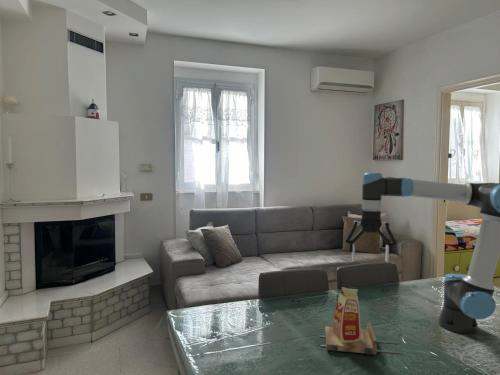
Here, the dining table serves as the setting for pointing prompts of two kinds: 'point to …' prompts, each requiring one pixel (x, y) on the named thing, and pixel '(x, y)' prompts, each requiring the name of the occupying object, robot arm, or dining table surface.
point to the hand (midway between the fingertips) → (369, 260)
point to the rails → (377, 350)
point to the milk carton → (347, 317)
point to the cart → (363, 346)
